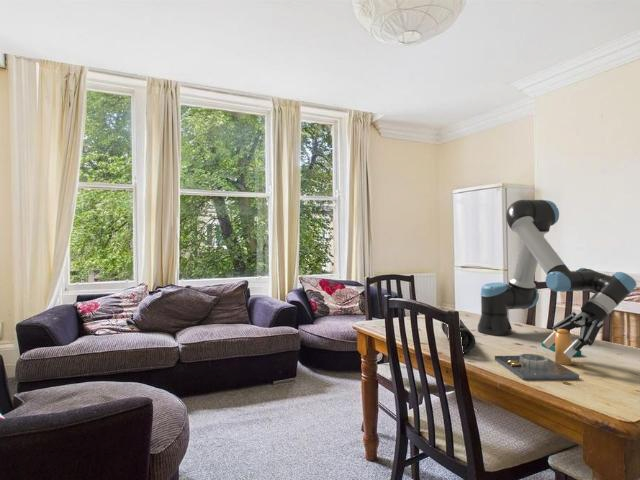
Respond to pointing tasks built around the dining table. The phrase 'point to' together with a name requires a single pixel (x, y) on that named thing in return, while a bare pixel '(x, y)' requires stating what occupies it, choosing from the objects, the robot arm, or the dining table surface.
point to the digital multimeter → (554, 349)
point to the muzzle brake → (463, 337)
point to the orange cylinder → (562, 346)
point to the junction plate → (537, 373)
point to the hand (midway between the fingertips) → (555, 350)
